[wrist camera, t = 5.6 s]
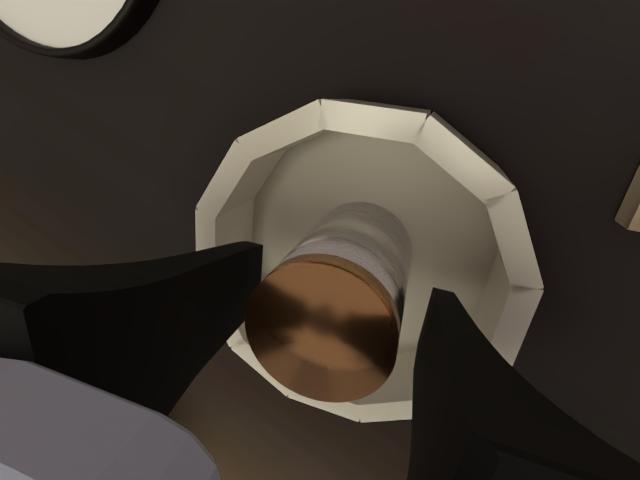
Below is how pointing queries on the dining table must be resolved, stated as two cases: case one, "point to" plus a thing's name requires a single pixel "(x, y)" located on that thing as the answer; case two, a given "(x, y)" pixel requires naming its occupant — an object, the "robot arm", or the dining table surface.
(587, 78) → the dining table surface
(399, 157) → the cup
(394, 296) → the cylinder
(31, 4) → the magnifying glass
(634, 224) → the checker cradle
